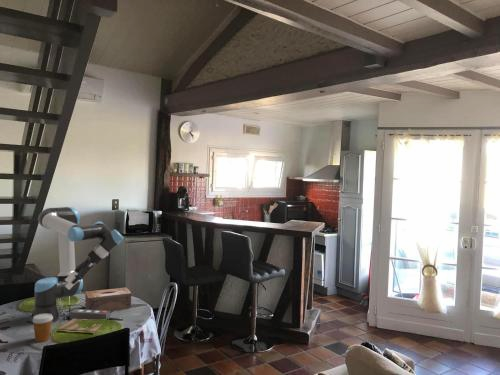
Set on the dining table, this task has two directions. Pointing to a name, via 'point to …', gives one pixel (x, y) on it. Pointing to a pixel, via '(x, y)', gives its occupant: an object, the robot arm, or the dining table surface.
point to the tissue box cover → (108, 299)
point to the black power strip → (91, 314)
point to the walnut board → (74, 326)
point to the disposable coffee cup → (42, 326)
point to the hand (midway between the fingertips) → (66, 284)
